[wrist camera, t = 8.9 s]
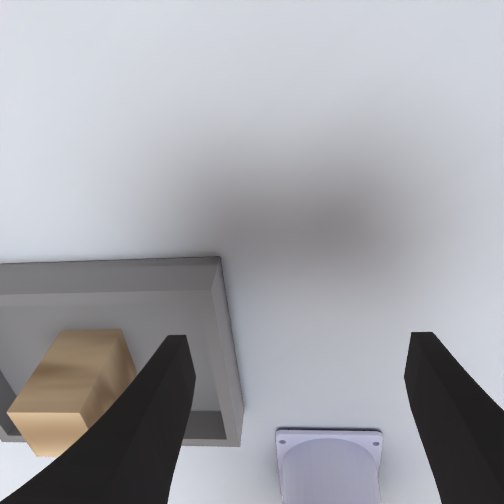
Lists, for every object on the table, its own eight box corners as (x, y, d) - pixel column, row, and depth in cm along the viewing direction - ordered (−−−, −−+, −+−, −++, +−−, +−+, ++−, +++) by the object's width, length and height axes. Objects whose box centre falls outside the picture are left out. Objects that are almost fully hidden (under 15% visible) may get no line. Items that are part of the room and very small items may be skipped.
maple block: (137, 372, 27) (103, 457, 22) (81, 372, 28) (36, 456, 23) (121, 329, 25) (79, 412, 20) (61, 330, 26) (6, 412, 21)
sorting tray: (244, 408, 30) (239, 446, 27) (24, 406, 32) (2, 441, 29) (219, 256, 23) (211, 289, 20) (-63, 266, 25) (-103, 297, 22)
